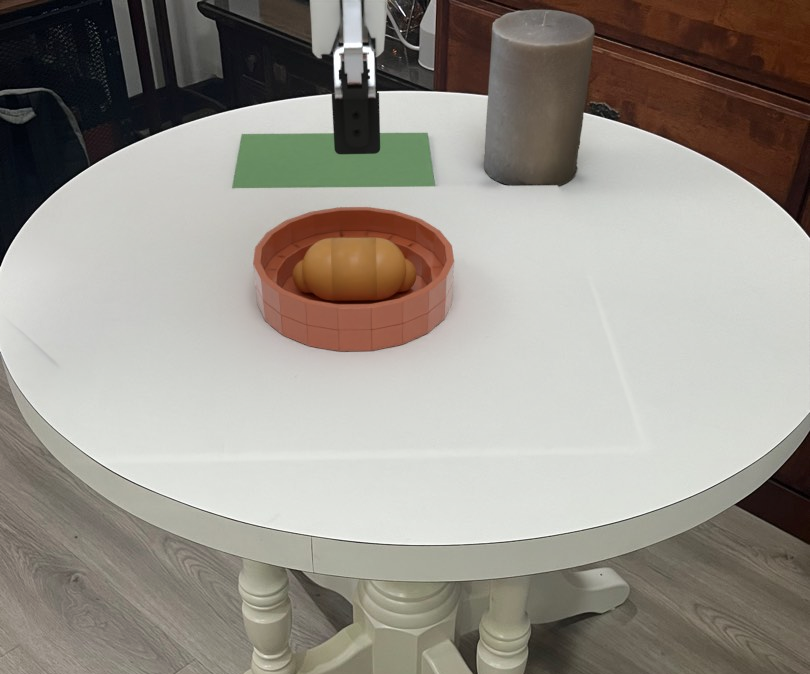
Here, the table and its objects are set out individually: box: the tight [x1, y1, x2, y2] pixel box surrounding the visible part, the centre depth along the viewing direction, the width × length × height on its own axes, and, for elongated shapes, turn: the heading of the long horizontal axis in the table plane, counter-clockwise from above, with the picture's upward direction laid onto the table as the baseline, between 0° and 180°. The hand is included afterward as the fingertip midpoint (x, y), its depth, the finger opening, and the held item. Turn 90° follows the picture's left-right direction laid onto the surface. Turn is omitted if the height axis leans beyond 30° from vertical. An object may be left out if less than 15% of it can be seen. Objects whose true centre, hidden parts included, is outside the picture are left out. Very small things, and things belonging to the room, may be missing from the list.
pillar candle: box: [483, 9, 596, 187], centre depth 97 cm, size 10×10×15 cm
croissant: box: [292, 237, 417, 301], centre depth 82 cm, size 10×5×5 cm, turn 92°
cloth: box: [231, 132, 436, 189], centre depth 102 cm, size 20×13×1 cm, turn 92°
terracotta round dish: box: [252, 206, 455, 352], centre depth 82 cm, size 16×16×4 cm
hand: (357, 123), depth 73 cm, fingers open, 9 cm apart
